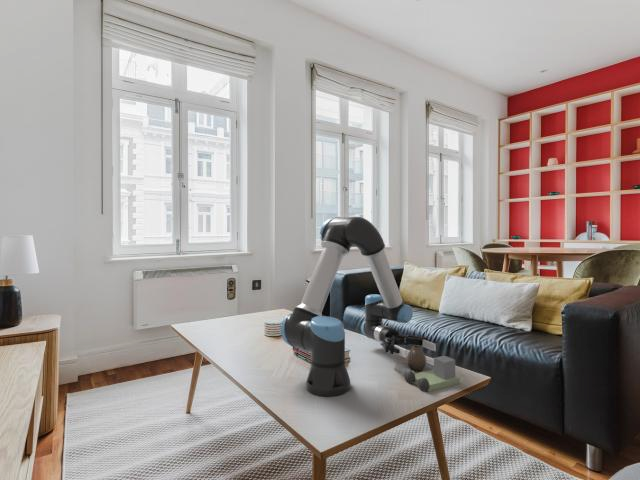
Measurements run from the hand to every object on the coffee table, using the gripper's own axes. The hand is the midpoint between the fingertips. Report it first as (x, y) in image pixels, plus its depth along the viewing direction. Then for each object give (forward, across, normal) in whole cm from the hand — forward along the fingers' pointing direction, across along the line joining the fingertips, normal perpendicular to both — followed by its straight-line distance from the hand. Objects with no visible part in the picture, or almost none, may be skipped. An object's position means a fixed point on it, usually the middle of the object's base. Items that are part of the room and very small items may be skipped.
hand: (420, 350), depth 143 cm
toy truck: (+8, +2, -9) cm, 12 cm away
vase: (-2, 0, -8) cm, 8 cm away
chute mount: (-2, 0, -9) cm, 9 cm away
